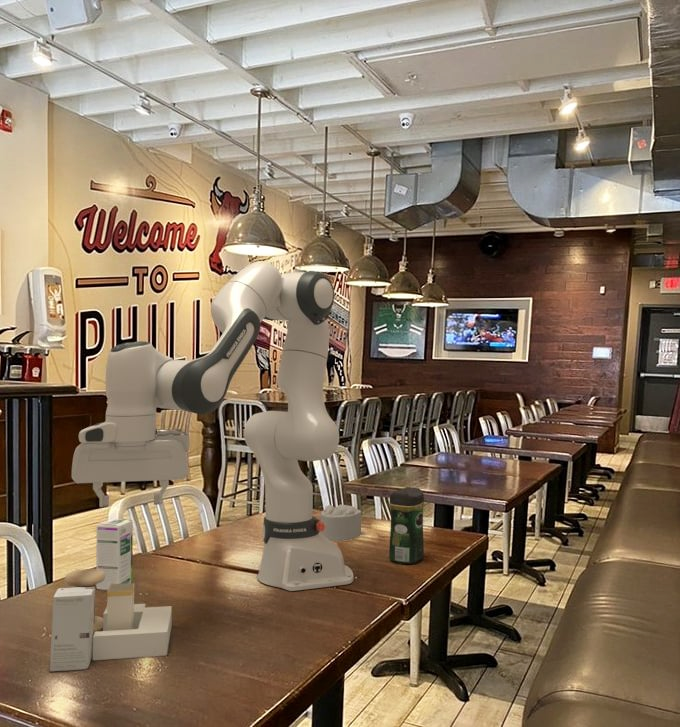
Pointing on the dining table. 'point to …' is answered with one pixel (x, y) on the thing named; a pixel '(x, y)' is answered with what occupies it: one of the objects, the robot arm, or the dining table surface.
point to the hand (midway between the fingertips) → (131, 505)
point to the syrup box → (115, 552)
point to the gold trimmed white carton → (120, 607)
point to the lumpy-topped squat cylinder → (341, 522)
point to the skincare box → (72, 628)
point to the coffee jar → (406, 525)
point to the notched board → (136, 635)
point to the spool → (87, 580)
